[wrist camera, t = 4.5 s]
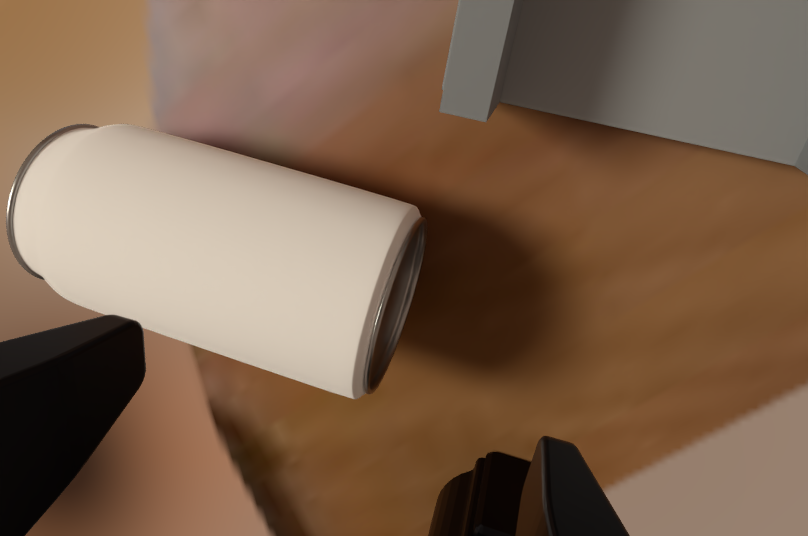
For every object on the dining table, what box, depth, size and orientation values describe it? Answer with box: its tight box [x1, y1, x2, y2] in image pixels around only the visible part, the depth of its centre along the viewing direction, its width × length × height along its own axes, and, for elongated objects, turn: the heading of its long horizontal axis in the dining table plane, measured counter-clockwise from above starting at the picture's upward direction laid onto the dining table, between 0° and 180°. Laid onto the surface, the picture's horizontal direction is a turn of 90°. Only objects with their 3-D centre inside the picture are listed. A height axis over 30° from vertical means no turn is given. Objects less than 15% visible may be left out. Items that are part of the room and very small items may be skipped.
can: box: [6, 124, 428, 399], centre depth 19 cm, size 6×6×12 cm
